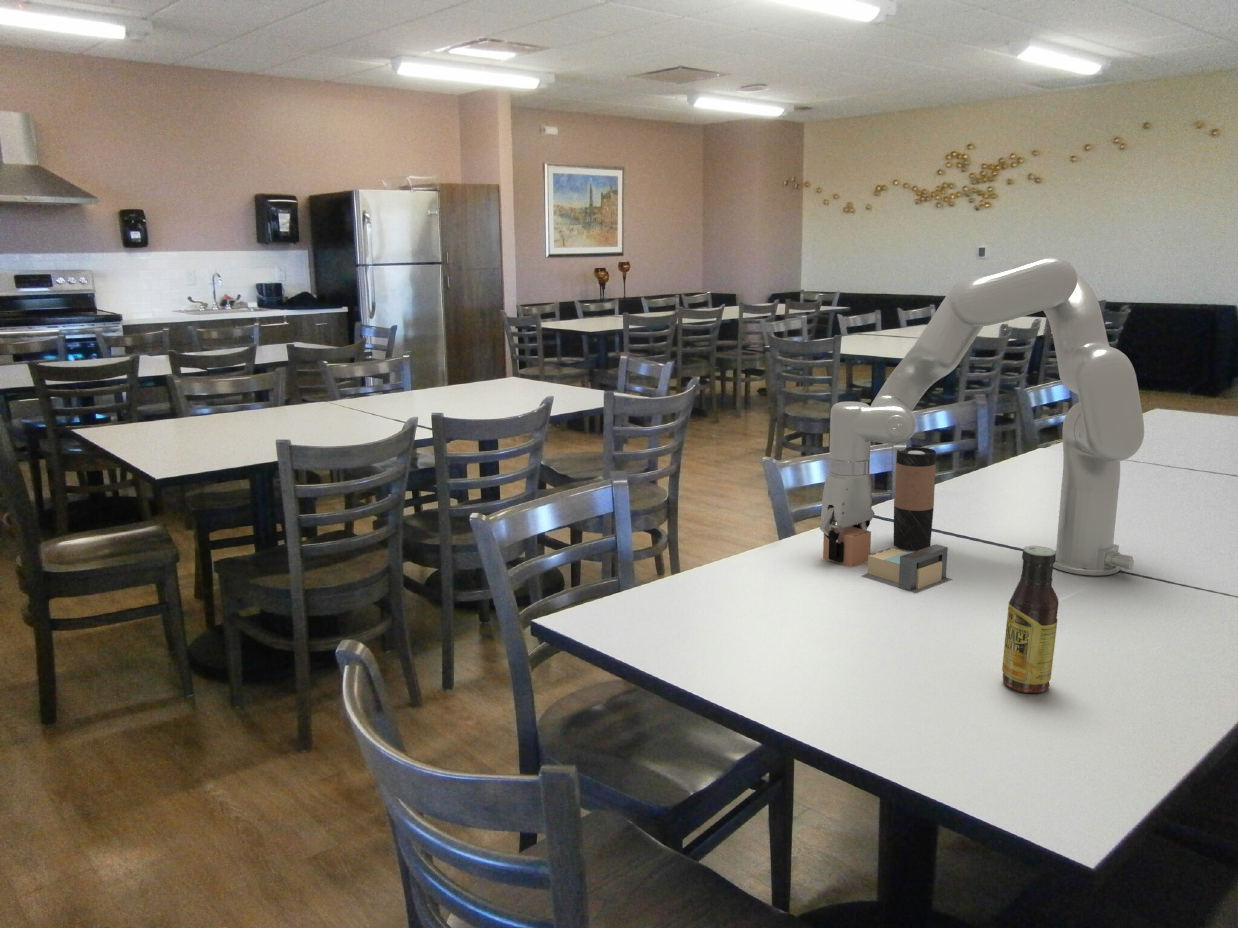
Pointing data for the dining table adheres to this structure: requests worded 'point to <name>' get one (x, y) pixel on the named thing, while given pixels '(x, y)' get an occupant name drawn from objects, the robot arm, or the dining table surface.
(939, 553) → the grey rectangular collar
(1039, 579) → the sauce bottle
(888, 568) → the tan and teal block
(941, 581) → the mat
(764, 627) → the dining table surface
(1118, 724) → the dining table surface
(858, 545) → the stub
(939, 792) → the dining table surface
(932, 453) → the travel mug
